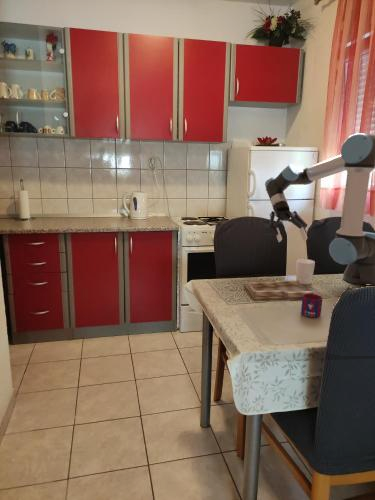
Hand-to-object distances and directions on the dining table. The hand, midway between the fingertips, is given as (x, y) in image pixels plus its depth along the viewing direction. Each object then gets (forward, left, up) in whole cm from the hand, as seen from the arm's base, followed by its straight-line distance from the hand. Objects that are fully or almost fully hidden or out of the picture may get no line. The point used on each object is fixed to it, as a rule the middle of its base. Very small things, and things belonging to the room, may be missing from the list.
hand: (293, 240), depth 173 cm
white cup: (-2, +11, -18) cm, 21 cm away
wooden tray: (+15, +24, -17) cm, 33 cm away
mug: (+10, +46, -18) cm, 50 cm away
